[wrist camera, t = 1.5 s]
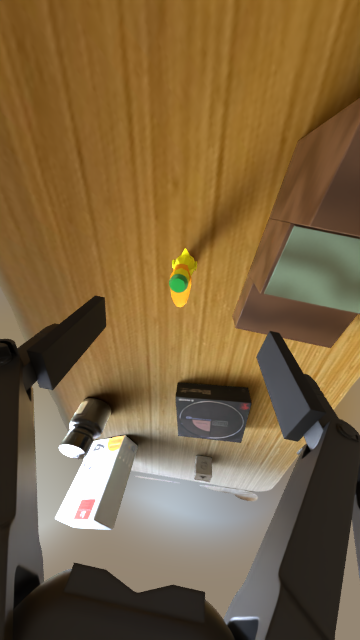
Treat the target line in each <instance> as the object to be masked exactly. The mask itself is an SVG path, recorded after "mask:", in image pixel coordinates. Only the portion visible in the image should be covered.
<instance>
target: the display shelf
mask: <svg viewBox="0 0 360 640" xmlns="http://www.w3.org/2000/svg"><path fill="white" fill-rule="evenodd" d="M269 218H270V219H269V220H268V223H267V225H266V228H265V231H264V233H263V236H262V239H261V241H260V244H259V247H258V249H257V252H256V255H255V257H254V260H253V263H252V265H251V268H250V271H249V273H248V276H247V279H246V281H245V284H244V287H243V289H242V292H241V295H240V297H239V300H238V303H237V305H236V308H235V311H234V313H233V320H234V325H235V328H238V329H243V330H247V331H252V332H257V333H262V334H266V335H268V333H269V331H273V332H278V333H280V335H281V336H282V338H286V339H290V340H295V341H300V342H305V343H309V344H314V345H319V346H324V347H328V348H331V347H332V346H333V345H334V343H335V342H336V341H337V340H338V338H339V337H340V336H341V334H342V333H343V332H344V331H345V329H346V328H347V327H348V326H349V324H350V323H351V322H352V321H353V319H354V318H355V317H356V315H357V314H360V98H359V99H357V100H356V101H355V102H353V103H352V104H350V105H349V106H347V107H346V108H345V109H343V110H342V111H340V112H339V113H337V114H336V115H335V116H333V117H332V118H330V119H329V120H328V121H326V122H325V123H323V124H322V125H320V126H319V127H318V128H316V129H315V130H313V131H312V132H311V133H309V134H308V135H306V136H305V137H303V138H302V139H301V140H299V141H298V143H297V145H296V148H295V151H294V153H293V156H292V159H291V161H290V164H289V167H288V169H287V172H286V175H285V177H284V180H283V183H282V185H281V188H280V191H279V193H278V196H277V199H276V201H275V204H274V207H273V209H272V212H271V215H270V217H269Z"/></svg>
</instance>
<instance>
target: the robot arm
mask: <svg viewBox="0 0 360 640" xmlns="http://www.w3.org/2000/svg"><path fill="white" fill-rule="evenodd" d="M105 327H106V312H105V297H100V296H94V297H93V298H92V299H90V300H89V301H88V302H87V303H85V304H84V305H83V306H82V307H80V308H79V309H78V310H77V311H75V312H74V313H73V314H72V315H70V316H69V317H68V318H66V319H65V320H64V321H63V322H61V323H60V324H52V325H50V326H47V327H45V328H44V329H43V330H41V331H40V332H39V333H37V334H36V335H35V336H34V337H32V338H31V339H29V340H28V341H27V342H25V343H24V344H23V345H21V346H20V347H19V348H17V347H16V344H15V342H14V341H13V340H11V339H0V640H335V630H336V623H337V617H338V610H339V603H340V596H341V589H342V582H343V575H344V568H345V561H346V554H347V547H348V540H349V533H350V526H351V520H352V522H353V531H354V539H355V546H356V554H357V562H358V570H359V577H360V435H359V433H358V432H357V431H356V430H355V429H354V428H353V427H352V426H351V425H349V424H348V423H347V422H345V421H343V420H340V419H339V418H338V417H337V415H336V414H335V412H334V410H333V409H332V407H331V406H330V404H329V402H328V401H327V399H326V398H325V397H324V394H323V393H322V391H320V388H319V387H318V385H317V383H316V382H315V381H314V380H313V379H312V378H311V377H310V376H309V375H307V374H303V372H302V370H301V369H300V367H299V365H298V363H297V362H296V360H295V358H294V357H293V355H292V353H291V352H290V350H289V348H288V347H287V345H286V343H285V341H284V340H283V338H282V336H281V335H280V333H278V332H273V331H269V333H268V335H267V337H266V339H265V341H264V343H263V345H262V347H261V349H260V351H259V353H258V355H257V360H258V363H259V366H260V369H261V372H262V375H263V378H264V381H265V384H266V387H267V390H268V393H269V396H270V399H271V402H272V405H273V408H274V410H275V413H276V416H277V419H278V422H279V425H280V428H281V431H282V434H283V437H284V439H288V440H293V441H297V442H298V441H299V440H300V439H301V438H302V437H303V436H304V438H305V440H306V442H307V443H306V444H305V445H304V446H303V447H302V448H301V449H300V450H299V451H298V452H297V454H298V455H299V454H300V456H299V458H298V460H297V463H296V465H295V467H294V470H293V472H292V474H291V476H290V479H289V481H288V484H287V486H286V488H285V490H284V493H283V495H282V497H281V500H280V502H279V504H278V507H277V509H276V511H275V513H274V516H273V518H272V520H271V523H270V525H269V527H268V530H267V532H266V534H265V536H264V539H263V541H262V543H261V546H260V548H259V550H258V553H257V555H256V557H255V560H254V562H253V564H252V567H251V569H250V571H249V573H248V576H247V578H246V580H245V582H244V584H243V585H242V587H241V588H240V590H239V591H238V592H237V594H236V595H235V597H234V598H233V600H232V602H231V604H230V606H229V608H228V611H227V613H226V615H225V617H224V619H223V618H222V617H221V616H220V614H219V613H218V612H217V611H216V609H215V608H214V607H213V606H212V605H211V604H210V603H209V602H207V601H206V600H205V592H203V591H198V590H194V589H189V588H185V587H180V586H176V585H170V586H166V587H161V588H157V589H153V590H148V591H144V592H140V593H136V592H134V591H133V590H131V589H130V588H129V587H127V586H126V585H125V584H124V583H122V582H121V581H120V580H118V579H117V578H116V577H114V576H113V575H112V574H111V573H109V572H108V571H107V570H104V569H99V568H95V567H91V566H86V565H82V564H78V563H74V565H73V567H72V569H70V570H66V571H63V572H61V573H58V574H56V575H55V576H53V577H51V578H49V579H48V580H46V581H45V582H44V574H43V557H42V550H41V546H40V542H39V535H38V511H37V483H36V456H35V429H34V400H33V388H32V385H33V384H34V383H35V382H36V381H38V384H39V387H40V388H45V389H50V390H53V389H54V388H55V387H56V386H57V385H58V383H59V382H60V381H61V380H62V379H63V377H64V376H65V375H66V374H67V373H68V371H69V370H70V369H71V368H72V367H73V365H74V364H75V363H76V362H77V361H78V359H79V358H80V357H81V356H82V355H83V353H84V352H85V351H86V350H87V349H88V347H89V346H90V345H91V344H92V343H93V342H94V340H95V339H96V338H97V337H98V336H99V334H100V333H101V332H102V331H103V330H104V328H105Z"/></svg>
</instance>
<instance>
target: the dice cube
mask: <svg viewBox="0 0 360 640" xmlns="http://www.w3.org/2000/svg"><path fill="white" fill-rule="evenodd" d="M211 477H212V457H205V456H199V455H197V456H196V461H195V480H201V481H206V482H210V480H211Z"/></svg>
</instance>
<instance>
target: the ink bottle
mask: <svg viewBox="0 0 360 640" xmlns="http://www.w3.org/2000/svg"><path fill="white" fill-rule="evenodd" d="M110 415H111V408H110V406H109V405H108V404H107V403H105V402H104V401H102V400H99V399H95V398H87V399H85V400H84V401H83V402H82V403H81V405H80V406H79V408H78V409H77V411H76V413H75V414H74V416H73V418H72V419H71V421H70V431H69V432H68V434H67V435H66V437H65V438H64V440H63V442H62V443H61V445H60V447H59V449H60V451H61V452H62V453H64V454H65V455H67V456H69V457H72V458H77V459H83V458H86V456H87V454H88V452H89V450H90V448H91V446H92V444H93V442H94V439H95V438H98V437H99V436H100V435H101V434H102V432H103V430H104V428H105V426H106V424H107V421H108V419H109V417H110Z"/></svg>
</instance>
